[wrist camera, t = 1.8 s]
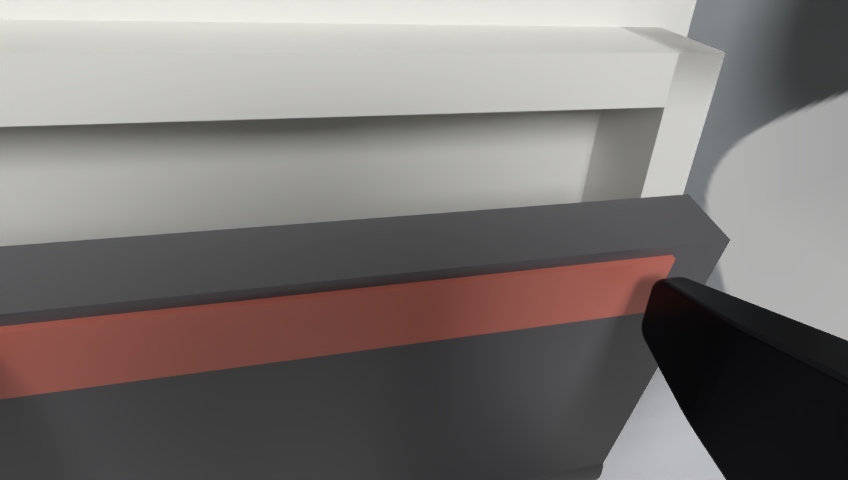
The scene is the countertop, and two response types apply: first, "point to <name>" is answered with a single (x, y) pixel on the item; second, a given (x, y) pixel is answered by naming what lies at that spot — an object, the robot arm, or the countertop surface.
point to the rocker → (341, 345)
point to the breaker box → (336, 110)
